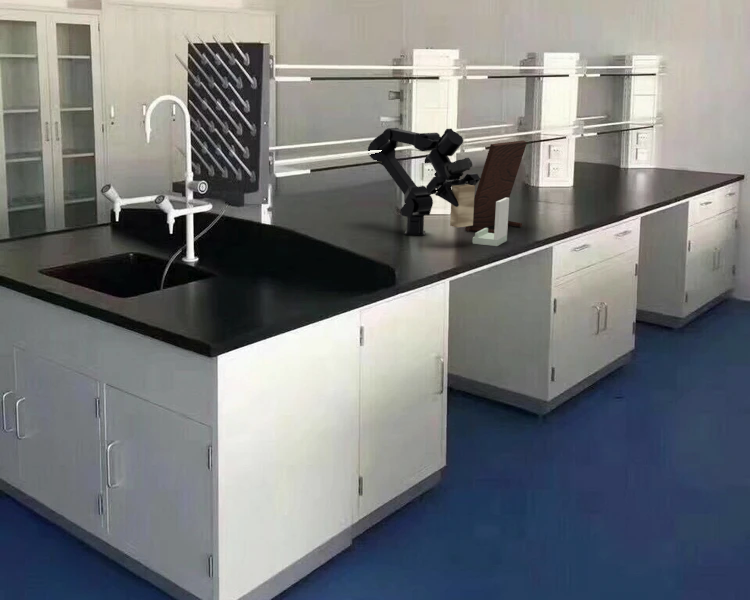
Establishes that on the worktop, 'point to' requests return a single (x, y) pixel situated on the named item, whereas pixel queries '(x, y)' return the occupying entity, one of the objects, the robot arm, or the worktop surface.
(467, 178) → the robot arm
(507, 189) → the picture frame
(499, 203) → the picture ledge
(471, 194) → the oak photo frame
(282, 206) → the worktop surface
